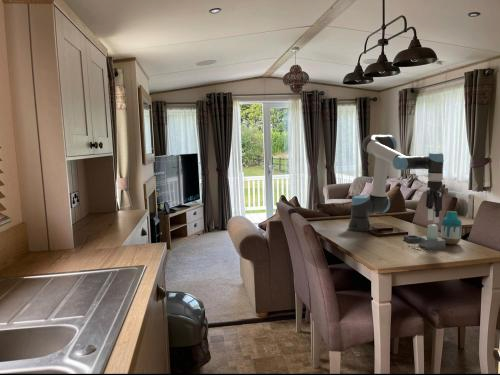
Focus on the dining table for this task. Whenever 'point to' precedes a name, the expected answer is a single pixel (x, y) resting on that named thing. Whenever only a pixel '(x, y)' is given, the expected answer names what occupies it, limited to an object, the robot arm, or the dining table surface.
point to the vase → (451, 228)
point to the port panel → (432, 243)
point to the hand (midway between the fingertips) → (433, 221)
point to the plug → (432, 232)
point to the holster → (411, 238)
